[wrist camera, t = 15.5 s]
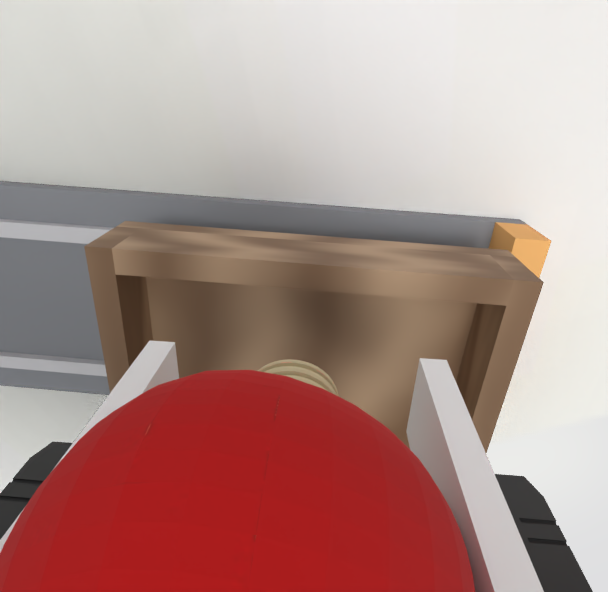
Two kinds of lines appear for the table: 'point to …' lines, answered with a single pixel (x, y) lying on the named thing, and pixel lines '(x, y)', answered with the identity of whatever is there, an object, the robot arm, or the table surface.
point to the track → (165, 210)
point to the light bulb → (238, 497)
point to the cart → (316, 310)
